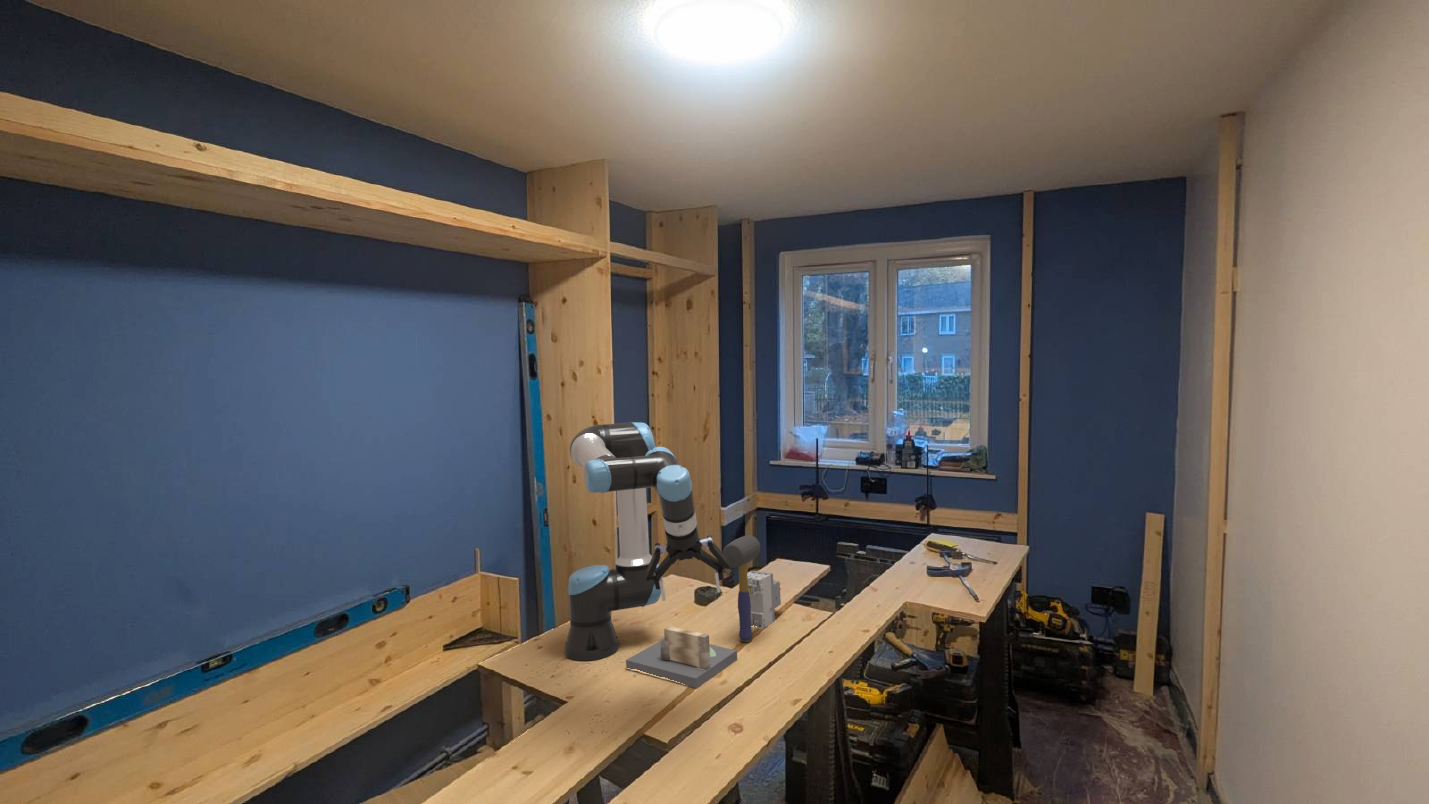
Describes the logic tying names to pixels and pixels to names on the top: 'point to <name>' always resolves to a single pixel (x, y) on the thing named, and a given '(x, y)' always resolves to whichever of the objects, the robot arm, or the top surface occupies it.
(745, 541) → the rubber mallet
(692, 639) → the wooden block
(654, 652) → the board
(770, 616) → the circuit breaker
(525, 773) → the top surface
